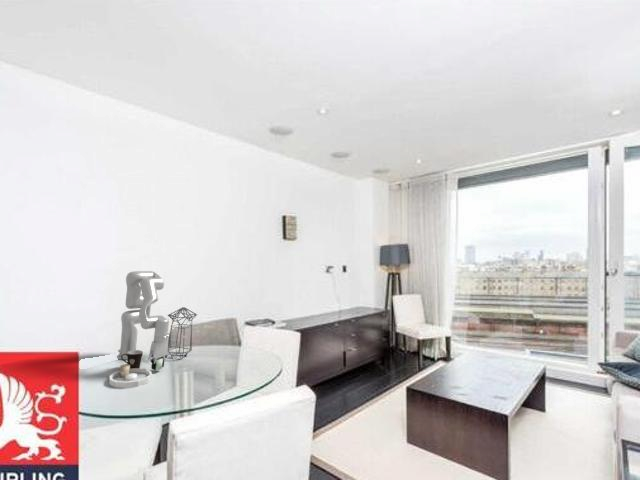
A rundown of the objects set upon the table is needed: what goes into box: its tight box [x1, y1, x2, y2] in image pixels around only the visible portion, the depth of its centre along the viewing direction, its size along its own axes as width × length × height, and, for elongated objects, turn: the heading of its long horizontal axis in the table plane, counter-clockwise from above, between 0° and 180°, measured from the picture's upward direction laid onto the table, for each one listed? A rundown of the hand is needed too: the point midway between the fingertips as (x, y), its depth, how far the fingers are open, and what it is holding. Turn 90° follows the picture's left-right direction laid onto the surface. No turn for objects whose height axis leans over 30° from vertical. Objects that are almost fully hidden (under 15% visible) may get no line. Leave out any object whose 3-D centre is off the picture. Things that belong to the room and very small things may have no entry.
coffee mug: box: [121, 349, 144, 369], centre depth 214 cm, size 12×9×10 cm
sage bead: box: [154, 357, 163, 371], centre depth 210 cm, size 5×5×6 cm
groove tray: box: [108, 367, 153, 389], centre depth 195 cm, size 21×21×3 cm
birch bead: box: [119, 363, 130, 378], centre depth 198 cm, size 5×5×6 cm
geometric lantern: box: [167, 306, 198, 360], centre depth 240 cm, size 16×16×35 cm
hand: (157, 367), depth 210 cm, fingers closed on sage bead, 4 cm apart
